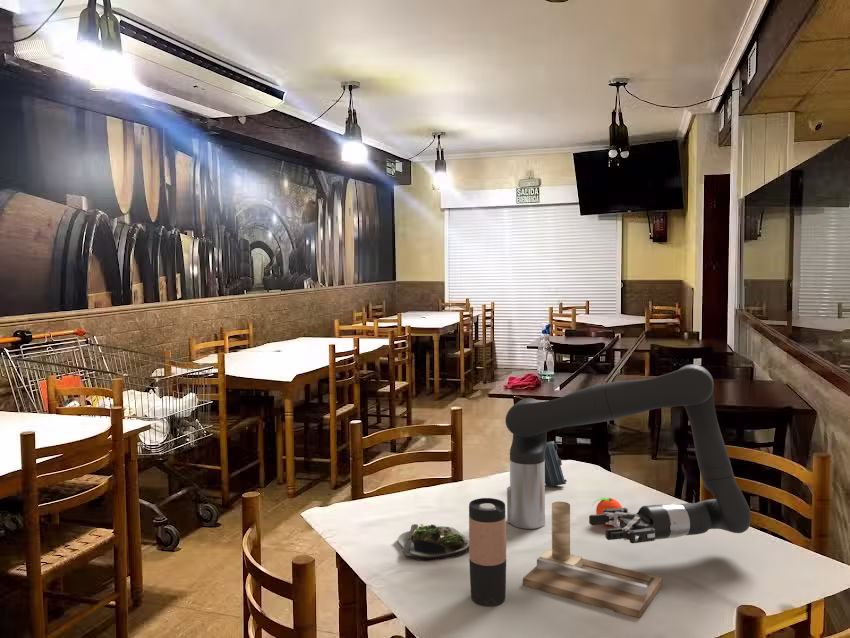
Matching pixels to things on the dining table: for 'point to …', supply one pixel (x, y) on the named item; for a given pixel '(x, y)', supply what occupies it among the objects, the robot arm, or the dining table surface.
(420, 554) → the salad plate
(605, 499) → the clementine
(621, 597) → the board
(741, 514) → the robot arm
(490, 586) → the travel mug
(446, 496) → the dining table surface
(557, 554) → the post
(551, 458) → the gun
